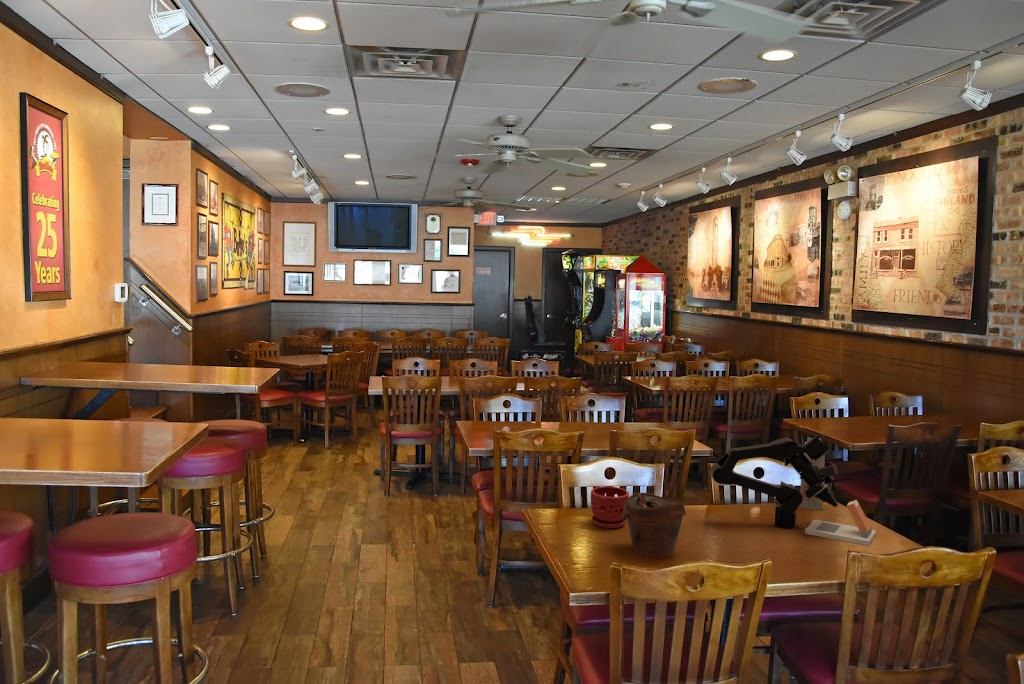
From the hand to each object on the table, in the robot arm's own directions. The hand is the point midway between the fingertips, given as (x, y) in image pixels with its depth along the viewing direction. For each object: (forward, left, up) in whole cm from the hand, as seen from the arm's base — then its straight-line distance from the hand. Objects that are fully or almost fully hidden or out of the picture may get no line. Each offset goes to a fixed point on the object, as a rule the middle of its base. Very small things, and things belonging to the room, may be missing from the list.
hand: (836, 506), depth 267 cm
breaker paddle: (+10, 0, -7) cm, 12 cm away
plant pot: (-66, -39, -10) cm, 77 cm away
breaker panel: (+2, 0, -9) cm, 10 cm away
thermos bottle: (-14, +28, -10) cm, 33 cm away
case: (-43, -55, -10) cm, 71 cm away
